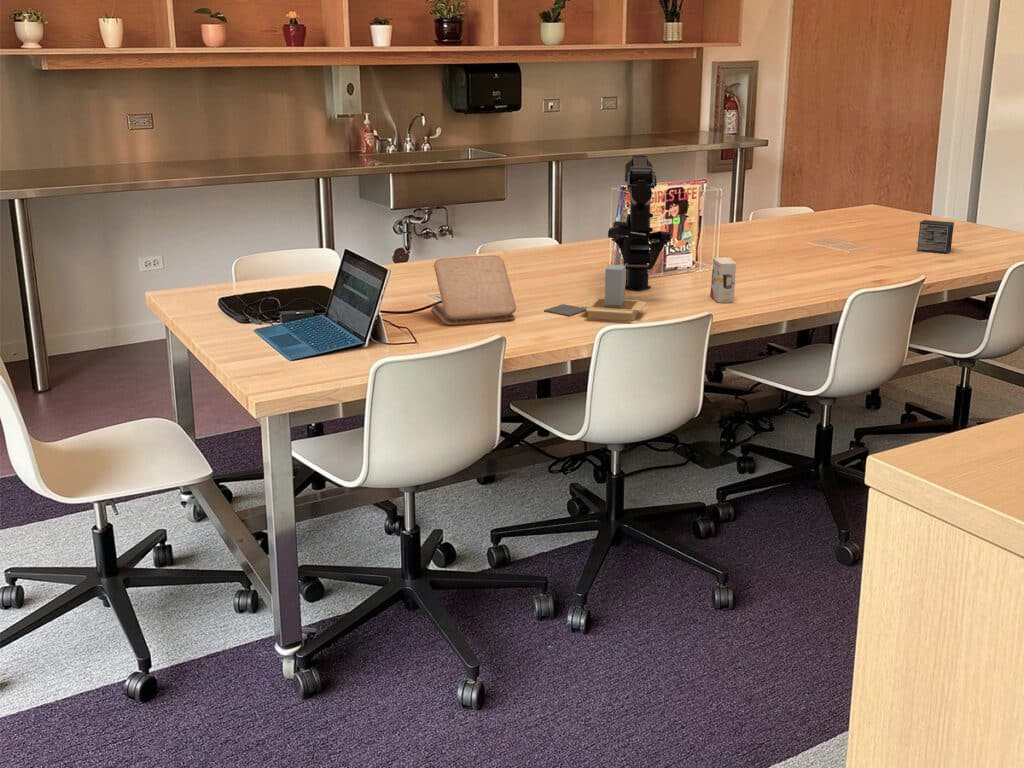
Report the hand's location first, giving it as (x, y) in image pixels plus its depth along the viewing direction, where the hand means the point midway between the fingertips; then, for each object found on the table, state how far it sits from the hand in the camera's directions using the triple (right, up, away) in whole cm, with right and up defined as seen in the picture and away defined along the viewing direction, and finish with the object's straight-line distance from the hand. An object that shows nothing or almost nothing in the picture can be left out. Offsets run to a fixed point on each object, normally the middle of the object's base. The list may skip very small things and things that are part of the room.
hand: (639, 264), depth 320 cm
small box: (+113, +13, +75) cm, 136 cm away
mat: (-21, -13, -3) cm, 25 cm away
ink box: (+25, -9, +9) cm, 29 cm away
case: (-47, -15, -6) cm, 50 cm away
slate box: (-8, -14, -7) cm, 18 cm away
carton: (-8, -15, -7) cm, 18 cm away
